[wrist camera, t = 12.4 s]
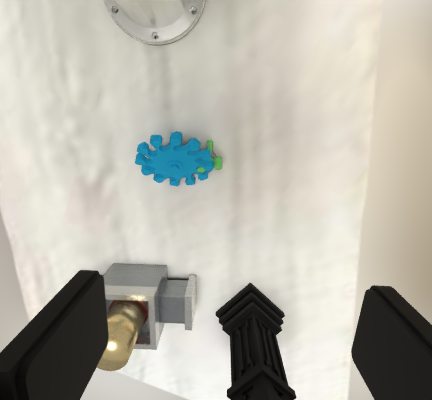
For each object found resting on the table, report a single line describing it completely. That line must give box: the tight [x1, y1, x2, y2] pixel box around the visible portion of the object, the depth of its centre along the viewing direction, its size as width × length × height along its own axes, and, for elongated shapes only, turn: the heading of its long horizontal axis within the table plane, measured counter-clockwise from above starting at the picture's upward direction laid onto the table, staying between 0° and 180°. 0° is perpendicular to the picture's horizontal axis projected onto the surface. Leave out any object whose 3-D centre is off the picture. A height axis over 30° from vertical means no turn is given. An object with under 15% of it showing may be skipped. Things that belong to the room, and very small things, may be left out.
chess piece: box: [216, 283, 296, 400], centre depth 35 cm, size 8×8×20 cm
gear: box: [135, 132, 222, 186], centre depth 35 cm, size 11×6×10 cm
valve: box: [103, 264, 196, 350], centre depth 40 cm, size 9×18×8 cm, turn 89°
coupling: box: [97, 300, 146, 371], centre depth 34 cm, size 5×5×7 cm
